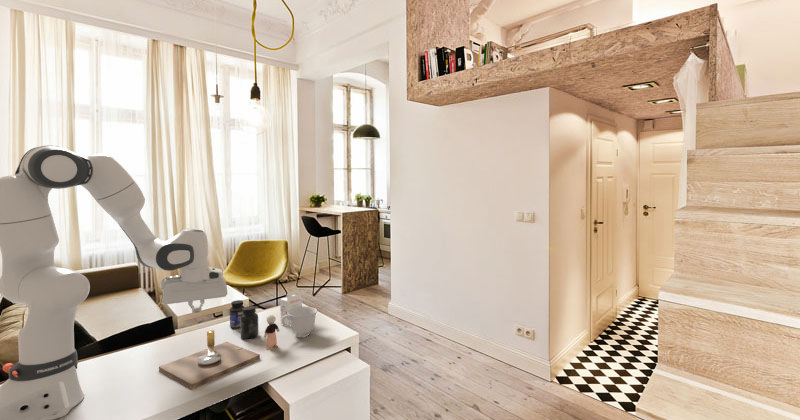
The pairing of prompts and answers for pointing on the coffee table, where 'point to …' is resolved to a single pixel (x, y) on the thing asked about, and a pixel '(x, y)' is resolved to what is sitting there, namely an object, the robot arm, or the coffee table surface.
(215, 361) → the lever
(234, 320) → the pill bottle
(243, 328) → the supplement bottle
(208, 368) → the base plate
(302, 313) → the teacup
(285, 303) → the ink cartridge box
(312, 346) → the coffee table surface
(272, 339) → the grandmother figurine
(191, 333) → the coffee table surface
